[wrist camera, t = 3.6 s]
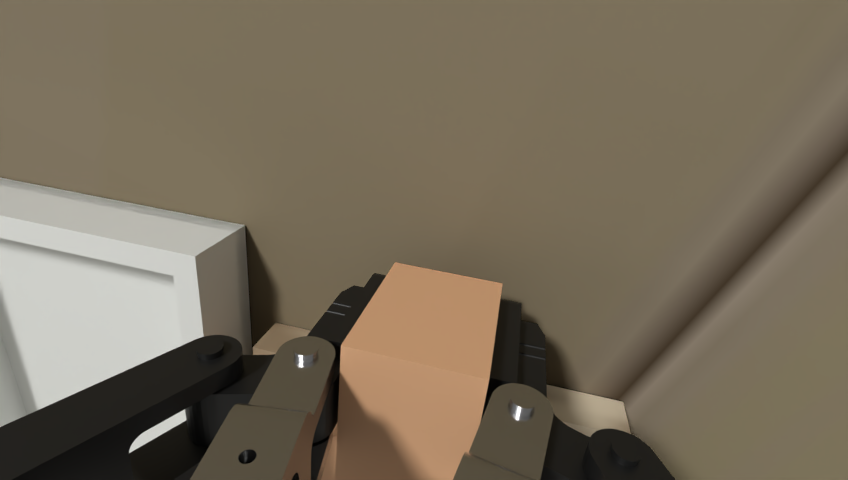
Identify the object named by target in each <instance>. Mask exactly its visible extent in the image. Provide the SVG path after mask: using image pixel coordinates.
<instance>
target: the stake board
mask: <svg viewBox="0 0 848 480" xmlns="http://www.w3.org/2000/svg"><path fill="white" fill-rule="evenodd" d="M309 333H310V330H306V329H301V328H297V327H293V326H288V325H284V324H279V323H275V324H274V325H273V326H272V327H271V328H270V329H269V330H268V331H267V332H266V334H265V335H264V336H263V337H262V338H261V339H260V340H259V341H258V342H257V343H256V344H255V345H254V346H253V355H272V354H276V352H277V350H278V349H279V347H280V346H281V345H282V344H284V343H285V342H287V341H289V340H291V339H294V338H298V337H303V336H307V335H308V334H309ZM547 399H548V400H549V401H550V403H551V405H552V407H553V412H554V414H555V415H556V416H557V417H558V419H560V420H561V421H562V422H563V423H565V424H566V425H567V426H569V427H571V428H573V429H574V430H576V431H578V432H580V433H582V434H584V435H586V436H588V437H591V435H592V434H593V433H594V432H596V431H598V430H601V429H617V430H621V431H624V432H627V433H629V434H631V432H630V428H629V424H628V420H627V416H626V412H625V408H624V404H623V402H621V401H617V400H612V399H608V398H603V397H599V396H595V395H590V394H586V393H582V392H577V391H573V390H568V389H564V388H560V387H555V386H551V385H547Z"/></svg>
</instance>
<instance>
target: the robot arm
mask: <svg viewBox="0 0 848 480" xmlns="http://www.w3.org/2000/svg"><path fill="white" fill-rule="evenodd" d="M385 277H386V275H381V274H376V273H374V274H373V275H372V277H371V278H370V280H369V281H368V282H367V284H366V285H365V287H359V286H352V287H350V288H348V289H347V290H345V291H343V292H341V293H340V294H339V296H338V297H337V298H336V299H335V301H334V302H333V304H332V305H331V306H330V307H329V308H328V310H327V312H325V313H324V315H323V316H322V317H321V319H320V320H319V321H318V322H317V324H316V325H315V326H314V328H313V329H312V330H311V331H310V333H309V334H308V335H307V336H303V337H298V338H294V339H291V340H289V341H287V342H285V343H284V344H282V345H281V346H280V347H279V349H278V350H277V352H276V354H272V355H243V350H242V345H241V343H240V342H239V341H238V340H237V339H235V338H233V337H230V336H226V335H209V336H204V337H201V338H198V339H195V340H193V341H191V342H189V343H186V344H184V345H182V346H180V347H177V348H175V349H173V350H171V351H168V352H166V353H164V354H162V355H160V356H157V357H155V358H153V359H151V360H148V361H146V362H144V363H142V364H140V365H137V366H135V367H133V368H131V369H128V370H126V371H124V372H122V373H119V374H117V375H115V376H113V377H111V378H108V379H106V380H104V381H102V382H99V383H97V384H95V385H93V386H91V387H88V388H86V389H84V390H82V391H79V392H77V393H75V394H73V395H70V396H68V397H66V398H64V399H62V400H59V401H57V402H55V403H53V404H50V405H48V406H46V407H44V408H42V409H39V410H37V411H35V412H33V413H30V414H28V415H26V416H24V417H21V418H19V419H17V420H15V421H13V422H10V423H8V424H6V425H4V426H1V427H0V480H321V478H322V475H323V471H324V468H325V464H326V461H327V457H328V454H329V450H330V447H331V443H332V439H333V430H334V428H335V426H336V424H337V422H338V402H339V378H340V354H341V344H342V343H343V341H344V340H345V338H346V337H347V335H348V334H349V332H350V331H351V329H352V328H353V326H354V325H355V323H356V321H357V320H358V318H359V317H360V315H361V314H362V312H363V311H364V309H365V308H366V306H367V305H368V303H369V302H370V300H371V298H372V297H373V295H374V294H375V292H376V291H377V289H378V288H379V286H380V285H381V283H382V282H383V280H384V279H385ZM545 359H546V353H545V335H544V334H543V332H542V331H541V329H540V328H539V326H538V325H537V324H535V323H530V322H525V321H521V303H518V302H513V301H508V300H503V299H500V305H499V313H498V320H497V327H496V335H495V342H494V349H493V356H492V364H491V371H490V378H489V384H488V389H487V393H486V398H485V403H484V408H483V413H482V418H481V422H480V425H479V428H478V430H477V433H476V435H475V438H474V440H473V443H472V445H471V448H470V450H469V453H468V452H465V453H464V455H463V457H462V459H461V461H460V464H459V466H458V468H457V471H456V473H455V476H454V478H453V480H675V479H674V478H673V476H672V475H671V474H670V472H669V471H668V470H667V469H666V467H665V466H664V465H663V463H662V462H661V461H660V460H659V458H658V457H657V456H656V454H655V453H654V452H653V451H652V450H651V448H650V447H649V446H648V445H646V444H645V443H644V442H643V441H641V440H640V439H639V438H637V437H635V436H634V435H631V434H629V433H627V432H624V431H621V430H617V429H601V430H598V431H596V432H594V433H593V434H592V435H591V437H588V436H586V435H584V434H582V433H580V432H578V431H576V430H574V429H573V428H571V427H569V426H567V425H566V424H565V423H563V422H562V421H561V420H560V419H558V417H557V416H556V415H555V414H554V412H553V407H552V405H551V403H550V401H549V400H548V399H547V384H546V361H545ZM184 409H185V413H186V421H184V422H182V423H181V424H179V425H177V426H176V427H174V428H172V429H170V430H169V431H167V432H165V433H163V434H162V435H160V436H158V437H156V438H155V439H153V440H151V441H150V442H148V443H146V444H144V445H143V446H141V447H139V448H137V449H136V450H134V451H132V452H130V453H129V450H130V447H131V445H132V443H133V442H134V441H135V439H136V438H137V437H138V436H139V435H141V434H142V433H143V432H145V431H147V430H149V429H150V428H152V427H154V426H156V425H157V424H159V423H161V422H163V421H165V420H166V419H168V418H170V417H172V416H174V415H175V414H177V413H179V412H181V411H183V410H184Z"/></svg>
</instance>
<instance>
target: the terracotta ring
mask: <svg viewBox="0 0 848 480" xmlns="http://www.w3.org/2000/svg"><path fill="white" fill-rule="evenodd" d="M501 291H502V283H497V282H492V281H487V280H482V279H477V278H472V277H467V276H462V275H457V274H452V273H446V272H441V271H436V270H431V269H426V268H421V267H416V266H411V265H406V264H401V263H396V262H395V263H394V265H393V266H392V268H391V269H390V271H389V272H388V274H387V275H386V277H385V279H384V280H383V282H382V283H381V285H380V286H379V288H378V289H377V291H376V292H375V294H374V295H373V297H372V298H371V300H370V302H369V303H368V305H367V306H366V308H365V309H364V311H363V312H362V314H361V315H360V317H359V318H358V320H357V321H356V323H355V325H354V326H353V328H352V329H351V331H350V332H349V334H348V335H347V337H346V338H345V340H344V341H343V343H342V344H341V354H340V378H339V402H338V422H337V424H336V426H335V428H334V430H333V439H332V443H331V447H330V450H329V454H328V457H327V461H326V464H325V468H324V471H323V475H322V478H321V480H453V478H454V476H455V473H456V471H457V468H458V466H459V464H460V461H461V459H462V457H463V455H464V453H465V452H468V453H469V450H470V448H471V445H472V443H473V440H474V438H475V435H476V433H477V430H478V428H479V425H480V422H481V418H482V413H483V408H484V403H485V398H486V393H487V389H488V384H489V378H490V371H491V364H492V356H493V349H494V342H495V335H496V327H497V320H498V313H499V305H500V298H501Z"/></svg>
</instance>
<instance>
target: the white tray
mask: <svg viewBox="0 0 848 480" xmlns="http://www.w3.org/2000/svg"><path fill="white" fill-rule="evenodd" d="M209 335H226V336H230V337H233V338H235V339H237V340H238V341H239V342H240V343H241V345H242V350H243V355H252V339H251V321H250V304H249V286H248V269H247V251H246V234H245V225H241V224H236V223H231V222H225V221H220V220H215V219H210V218H205V217H200V216H195V215H190V214H184V213H179V212H174V211H169V210H164V209H159V208H154V207H149V206H143V205H138V204H133V203H128V202H123V201H118V200H113V199H107V198H102V197H97V196H92V195H87V194H82V193H77V192H72V191H66V190H61V189H56V188H51V187H46V186H41V185H36V184H31V183H25V182H20V181H15V180H10V179H5V178H0V427H1V426H4V425H6V424H8V423H10V422H13V421H15V420H17V419H19V418H21V417H24V416H26V415H28V414H30V413H33V412H35V411H37V410H39V409H42V408H44V407H46V406H48V405H50V404H53V403H55V402H57V401H59V400H62V399H64V398H66V397H68V396H70V395H73V394H75V393H77V392H79V391H82V390H84V389H86V388H88V387H91V386H93V385H95V384H97V383H99V382H102V381H104V380H106V379H108V378H111V377H113V376H115V375H117V374H119V373H122V372H124V371H126V370H128V369H131V368H133V367H135V366H137V365H140V364H142V363H144V362H146V361H148V360H151V359H153V358H155V357H157V356H160V355H162V354H164V353H166V352H168V351H171V350H173V349H175V348H177V347H180V346H182V345H184V344H186V343H189V342H191V341H193V340H195V339H198V338H201V337H204V336H209ZM184 421H186V413H185V409H184V410H183V411H181V412H179V413H177V414H175V415H174V416H172V417H170V418H168V419H166V420H165V421H163V422H161V423H159V424H157V425H156V426H154V427H152V428H150V429H149V430H147V431H145V432H143V433H142V434H141V435H139V436H138V437H137V438H136V439H135V441H134V442H133V443H132V445H131V447H130V450H129V453H130V452H132V451H134V450H136V449H137V448H139V447H141V446H143V445H144V444H146V443H148V442H150V441H151V440H153V439H155V438H156V437H158V436H160V435H162V434H163V433H165V432H167V431H169V430H170V429H172V428H174V427H176V426H177V425H179V424H181V423H182V422H184Z"/></svg>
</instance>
